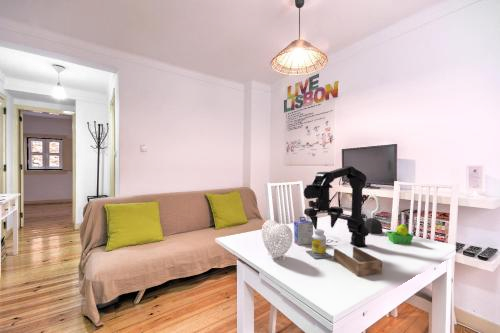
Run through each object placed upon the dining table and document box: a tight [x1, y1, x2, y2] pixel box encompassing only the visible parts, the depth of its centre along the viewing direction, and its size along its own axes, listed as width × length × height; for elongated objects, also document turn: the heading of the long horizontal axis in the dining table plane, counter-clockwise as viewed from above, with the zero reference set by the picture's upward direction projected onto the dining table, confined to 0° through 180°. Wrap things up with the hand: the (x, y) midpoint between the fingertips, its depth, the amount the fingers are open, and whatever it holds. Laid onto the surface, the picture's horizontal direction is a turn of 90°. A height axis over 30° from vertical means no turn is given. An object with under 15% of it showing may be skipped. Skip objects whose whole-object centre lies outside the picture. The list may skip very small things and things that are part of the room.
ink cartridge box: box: [293, 216, 314, 246], centre depth 127 cm, size 10×6×14 cm, turn 108°
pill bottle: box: [311, 228, 327, 256], centre depth 110 cm, size 6×6×12 cm
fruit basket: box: [386, 223, 414, 245], centre depth 128 cm, size 11×9×11 cm
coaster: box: [305, 249, 333, 260], centre depth 110 cm, size 9×9×1 cm
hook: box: [364, 194, 384, 236], centre depth 146 cm, size 11×11×25 cm
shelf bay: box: [333, 246, 383, 277], centre depth 98 cm, size 11×16×5 cm
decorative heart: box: [261, 219, 294, 262], centre depth 106 cm, size 18×11×17 cm, turn 35°
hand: (323, 228), depth 112 cm, fingers open, 9 cm apart
